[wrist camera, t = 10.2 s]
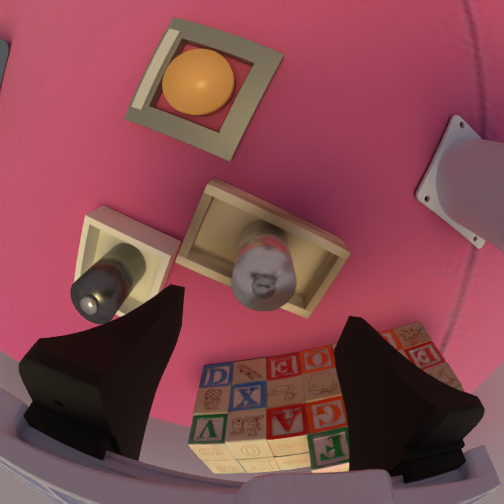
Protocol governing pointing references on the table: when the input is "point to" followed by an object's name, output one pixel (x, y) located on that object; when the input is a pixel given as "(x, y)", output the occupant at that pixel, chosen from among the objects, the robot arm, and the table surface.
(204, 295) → the table surface
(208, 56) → the button
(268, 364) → the stack of blocks
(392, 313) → the table surface
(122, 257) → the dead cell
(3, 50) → the data package
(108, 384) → the robot arm
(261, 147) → the table surface
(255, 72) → the grey square frame
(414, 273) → the table surface
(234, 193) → the trough
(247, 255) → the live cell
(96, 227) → the white square tray
